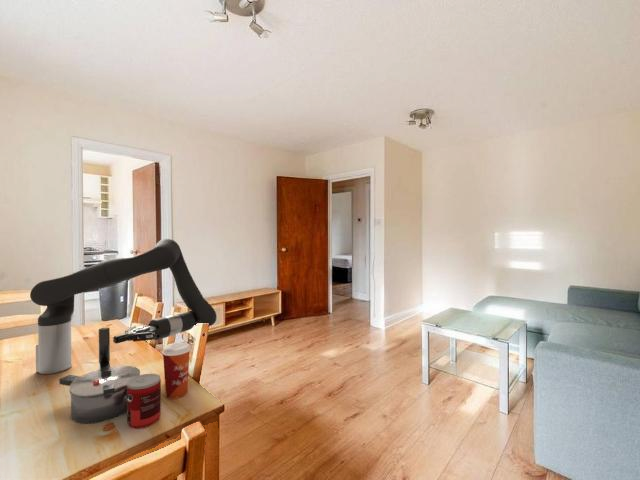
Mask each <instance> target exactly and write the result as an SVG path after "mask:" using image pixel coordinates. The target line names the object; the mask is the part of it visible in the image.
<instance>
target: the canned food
mask: <svg viewBox="0 0 640 480" xmlns="http://www.w3.org/2000/svg"><path fill="white" fill-rule="evenodd" d="M161 379H162V378H161V376H160V374H157V373H144V374H140V375H139V376H136V377H134V378H132V379H130V380H129V381H128V382H127V413H126V417H127V418H126V421H127V425H128V426H129V428H132V429H143V428H147V427H150V426H152V425H154V424H155V423H157V422H158V421H159V420H160V417H161V415H162V412H161V411H162V407H161V406H162V405H161V403H162V401H161V400H162V397H161V395H162V394H161V393H162V392H161V391H162V387H161V385H162V381H161Z"/></svg>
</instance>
